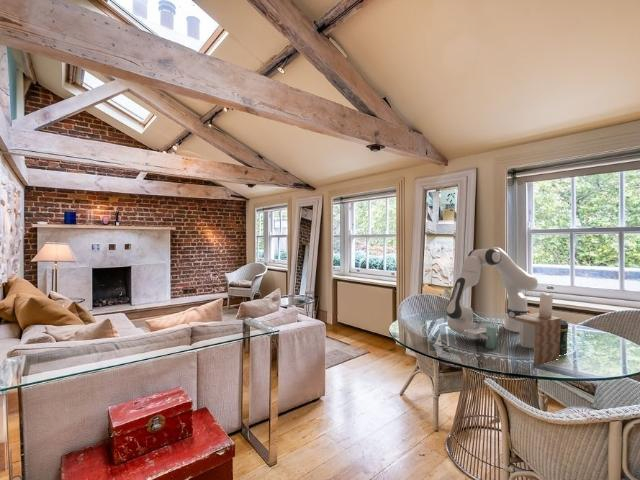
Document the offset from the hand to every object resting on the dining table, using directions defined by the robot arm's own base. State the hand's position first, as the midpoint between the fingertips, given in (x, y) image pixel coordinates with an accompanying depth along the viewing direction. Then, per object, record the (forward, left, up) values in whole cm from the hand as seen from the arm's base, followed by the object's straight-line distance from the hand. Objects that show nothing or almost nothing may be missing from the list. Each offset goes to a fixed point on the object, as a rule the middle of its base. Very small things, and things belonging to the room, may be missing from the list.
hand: (492, 336), depth 181 cm
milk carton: (-23, +6, -7) cm, 25 cm away
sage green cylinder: (0, -1, -7) cm, 7 cm away
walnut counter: (-8, +19, -7) cm, 22 cm away
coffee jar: (-26, +20, -7) cm, 34 cm away
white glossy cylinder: (-13, +20, +15) cm, 28 cm away
